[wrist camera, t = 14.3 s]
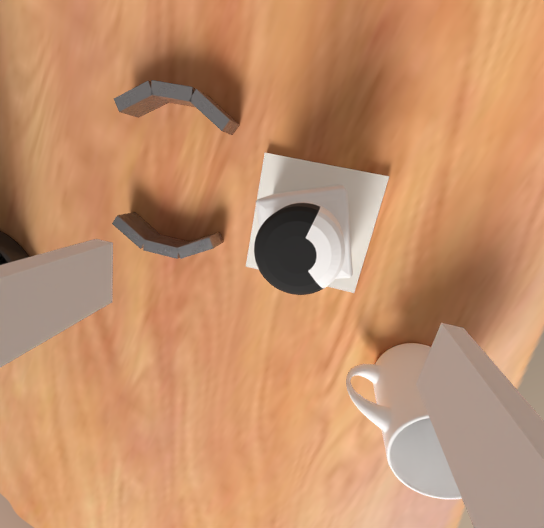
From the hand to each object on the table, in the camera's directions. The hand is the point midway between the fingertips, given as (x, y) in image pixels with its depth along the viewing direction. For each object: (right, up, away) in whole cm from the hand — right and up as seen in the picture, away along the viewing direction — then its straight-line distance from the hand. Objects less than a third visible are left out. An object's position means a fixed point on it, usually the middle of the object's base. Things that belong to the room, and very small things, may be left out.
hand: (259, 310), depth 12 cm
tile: (+5, +6, +19) cm, 21 cm away
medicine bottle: (+4, +6, +19) cm, 20 cm away
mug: (+15, -10, +22) cm, 28 cm away
